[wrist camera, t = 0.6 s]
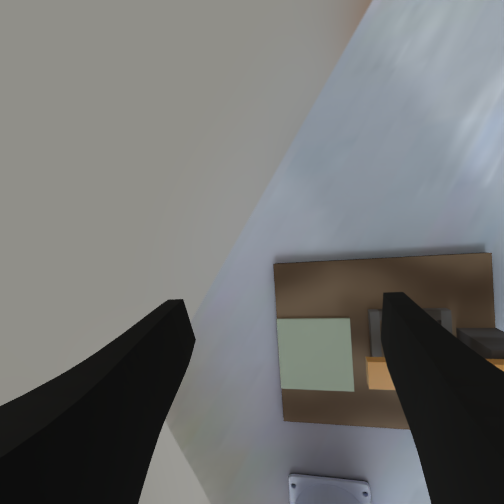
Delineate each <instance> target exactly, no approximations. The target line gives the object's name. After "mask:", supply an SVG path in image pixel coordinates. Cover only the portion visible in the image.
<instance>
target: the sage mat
mask: <svg viewBox="0 0 504 504" xmlns="http://www.w3.org/2000/svg"><path fill="white" fill-rule="evenodd" d="M277 333H278V348H279V363H280V379H281V389H304V390H327V391H350V392H354V378H353V361H352V345H351V328H350V318H290V319H277Z"/></svg>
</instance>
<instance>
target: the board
mask: <svg viewBox="0 0 504 504" xmlns="http://www.w3.org/2000/svg"><path fill="white" fill-rule="evenodd" d="M273 266H274V281H275V296H276V311H277V319H290V318H350V328H351V345H352V361H353V378H354V392H350V391H327V390H304V389H282V402H283V417H284V421H290V422H305V423H320V424H335V425H350V426H364V427H379V428H394V429H409V430H410V428H409V425H408V422H407V420H406V417H405V414H404V412H403V409H402V406H401V403H400V401H399V398H398V395H397V393H396V390H379V389H369V387H368V384H367V375H366V358H365V357H385V356H384V351H383V347H382V343H381V324H382V306H383V293H385V292H404V293H405V294H406V295H407V296H408V297H410V298H411V299H412V300H413V301H414V302H415V303H416V304H417V305H419V306H420V307H421V308H422V309H423V310H424V311H425V312H427V313H428V314H429V315H430V316H431V317H432V318H433V319H435V320H436V321H437V322H438V323H439V324H440V325H442V326H443V327H444V328H445V329H447V330H448V331H449V332H450V333H451V334H453V335H454V336H455V337H456V338H458V339H459V340H460V341H462V342H463V343H464V344H466V345H467V346H468V347H470V348H471V349H472V350H474V351H475V352H476V353H478V354H479V355H480V356H482V357H483V358H485V359H504V332H503V331H501V330H499V329H497V328H495V312H494V292H493V272H492V253H467V254H448V255H429V256H410V257H391V258H372V259H353V260H334V261H315V262H296V263H277V264H273Z"/></svg>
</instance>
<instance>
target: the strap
mask: <svg viewBox="0 0 504 504" xmlns="http://www.w3.org/2000/svg"><path fill="white" fill-rule="evenodd" d="M365 358H366V375H367V384H368V387H369V389H379V390H395V387H394V384H393V382H392V379H391V376H390V373H389V371H388V368H387V364H386V360H385V357H365ZM486 360H487V361H489V362H490V363H492V364H493V365H495V366H496V367H498V368H499V369H501V370H502V371H504V359H486Z"/></svg>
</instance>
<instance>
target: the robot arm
mask: <svg viewBox="0 0 504 504" xmlns="http://www.w3.org/2000/svg"><path fill="white" fill-rule="evenodd" d="M195 340H196V339H195V336H194V333H193V329H192V326H191V323H190V320H189V317H188V313H187V310H186V307H185V304H184V301H183V299H176V300H167V301H166V302H164V303H163V304H161V305H160V306H159V307H157V308H156V309H155V310H153V311H152V312H151V313H150V314H148V315H147V316H145V317H144V318H143V319H142V320H140V321H139V322H138V323H136V324H135V325H134V326H132V327H131V328H130V329H128V330H127V331H126V332H124V333H123V334H122V335H120V336H119V337H118V338H116V339H115V340H113V341H112V342H111V343H109V344H108V345H106V346H105V347H103V348H102V349H101V350H99V351H98V352H96V353H95V354H93V355H92V356H90V357H89V358H87V359H86V360H84V361H83V362H81V363H79V364H78V365H76V366H75V367H73V368H71V369H70V370H68V371H66V372H65V373H63V374H61V375H60V376H58V377H56V378H54V379H52V380H50V381H49V382H47V383H45V384H43V385H41V386H39V387H37V388H35V389H34V390H32V391H30V392H28V393H26V394H24V395H22V396H20V397H18V398H16V399H14V400H12V401H10V402H8V403H6V404H4V405H2V406H0V504H138V502H139V498H140V495H141V491H142V488H143V485H144V481H145V478H146V474H147V471H148V468H149V464H150V461H151V458H152V455H153V452H154V449H155V446H156V443H157V439H158V437H159V434H160V431H161V429H162V426H163V423H164V421H165V419H166V416H167V414H168V412H169V409H170V407H171V405H172V402H173V400H174V398H175V396H176V393H177V391H178V389H179V386H180V384H181V382H182V379H183V377H184V375H185V372H186V370H187V367H188V365H189V362H190V359H191V355H192V352H193V348H194V344H195ZM381 343H382V347H383V351H384V356H385V360H386V364H387V368H388V371H389V373H390V376H391V379H392V382H393V384H394V387H395V390H396V393H397V395H398V398H399V401H400V403H401V406H402V409H403V412H404V414H405V417H406V420H407V422H408V425H409V428H410V430H411V433H412V436H413V439H414V442H415V445H416V448H417V451H418V455H419V458H420V462H421V466H422V470H423V473H424V477H425V481H426V484H427V488H428V492H429V496H430V500H431V504H504V371H502V370H501V369H499V368H498V367H496V366H495V365H493V364H492V363H490V362H489V361H487V360H486V359H485V358H483V357H482V356H480V355H479V354H478V353H476V352H475V351H474V350H472V349H471V348H470V347H468V346H467V345H466V344H464V343H463V342H462V341H460V340H459V339H458V338H456V337H455V336H454V335H453V334H451V333H450V332H449V331H448V330H447V329H445V328H444V327H443V326H442V325H440V324H439V323H438V322H437V321H436V320H435V319H433V318H432V317H431V316H430V315H429V314H428V313H427V312H425V311H424V310H423V309H422V308H421V307H420V306H419V305H417V304H416V303H415V302H414V301H413V300H412V299H411V298H410V297H408V296H407V295H406V294H405V293H404V292H385V293H383V306H382V324H381ZM288 482H289V498H290V504H371V493H370V486H369V484H368V483H367V482H365V481H356V480H347V479H338V478H328V477H319V476H309V475H300V474H290V475H289V479H288ZM292 483H294V484H295V485H292ZM363 492H367V493H363Z"/></svg>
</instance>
